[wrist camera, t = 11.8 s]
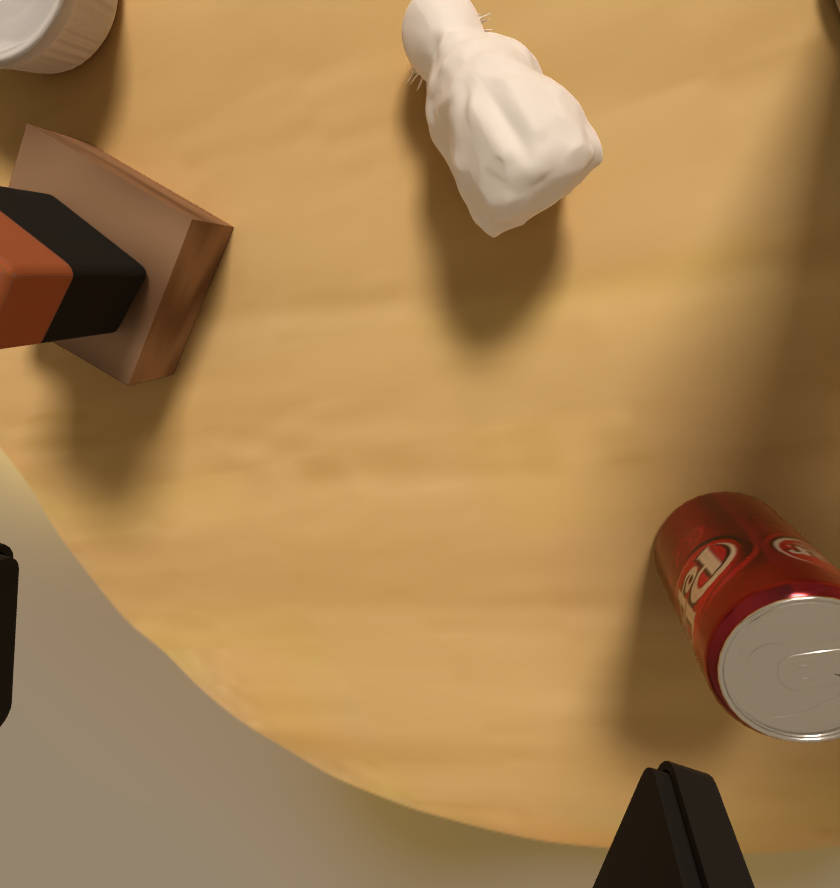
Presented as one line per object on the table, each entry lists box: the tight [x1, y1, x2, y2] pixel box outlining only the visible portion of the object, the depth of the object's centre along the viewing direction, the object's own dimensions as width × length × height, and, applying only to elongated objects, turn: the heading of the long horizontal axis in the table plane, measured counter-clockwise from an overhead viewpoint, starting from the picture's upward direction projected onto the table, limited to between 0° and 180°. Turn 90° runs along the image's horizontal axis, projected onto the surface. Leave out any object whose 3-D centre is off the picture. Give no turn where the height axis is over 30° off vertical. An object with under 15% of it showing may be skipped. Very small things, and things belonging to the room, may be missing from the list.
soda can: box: [655, 492, 840, 742], centre depth 30 cm, size 7×7×12 cm
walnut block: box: [9, 124, 234, 386], centre depth 35 cm, size 10×10×5 cm
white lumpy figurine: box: [402, 0, 603, 238], centre depth 28 cm, size 6×8×12 cm
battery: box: [0, 186, 146, 349], centre depth 28 cm, size 4×7×10 cm, turn 53°
